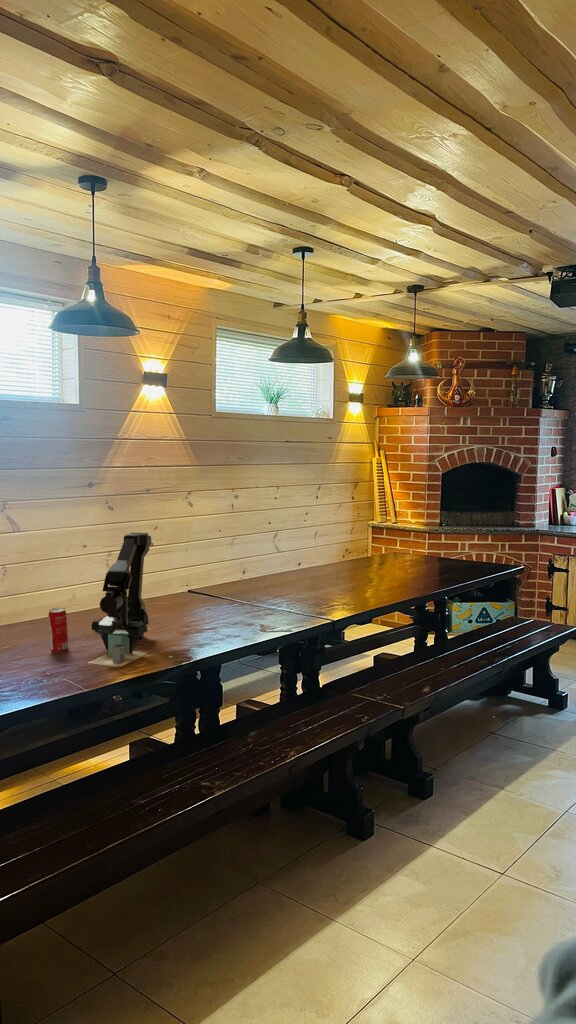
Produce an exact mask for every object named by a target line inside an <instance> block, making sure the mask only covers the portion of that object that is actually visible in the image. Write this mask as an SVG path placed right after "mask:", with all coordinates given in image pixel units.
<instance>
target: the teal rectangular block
mask: <svg viewBox="0 0 576 1024" xmlns="http://www.w3.org/2000/svg"><path fill="white" fill-rule="evenodd" d="M127 635H129V633H128V632H126V631H125V630H115V631H114V632H113V633H111V634H108V650H107V651H108V652H107V654H113V646H115V645H117V644H119V645H124V654H126V653H128V652H129V638H128V637H127Z"/></svg>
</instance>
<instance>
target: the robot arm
mask: <svg viewBox="0 0 576 1024" xmlns="http://www.w3.org/2000/svg"><path fill="white" fill-rule="evenodd" d="M151 544H152V536H151V535H149V533H148V532H130V533H126V534H124V536H123V542H122V545H121V548H120V551H119V553H118V557H117V559H116V561H115V562H114V563H113V564H112V565H110V567H109V569H108V570H107V572H106V573H105V576H104V580H103V581H104V582H103V587H102V592H105V595H104V596H103V597H102V598H101V600H100V601H99V608H100V610H101V612H103V613H105V614H106V616H105V617H104V618H102V617H101V618H98V619H96V620H93V621H92V622H91V625H90V626H91V627H90V628H91V631H94V633H97V634H98V635H99V636H100V637H101V640H102V642H103V644H104V645H103V646H104V647H105V649H106V651H108V634H111V633H113V632H115V631H125V632H128V633H129V635H127V637H128V638H129V652H130V654H131V653H133V651H135V648H136V645H137V643H138V641H140V640H143V639H144V637H145V633H147V632H148V625H149V619H150V618H149V614H148V612H147V610H146V604H145V602H144V600H143V599H142V593H143V592H142V589H143V579H144V578H143V576H144V562H145V557H146V555H147V554H148V553H149V551H150V546H151Z"/></svg>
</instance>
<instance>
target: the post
mask: <svg viewBox="0 0 576 1024" xmlns="http://www.w3.org/2000/svg"><path fill="white" fill-rule="evenodd" d="M123 662H125V655H124V645H119V644H117V645H115V646H113V663H116V664H121V663H123Z"/></svg>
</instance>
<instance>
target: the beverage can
mask: <svg viewBox="0 0 576 1024" xmlns="http://www.w3.org/2000/svg"><path fill="white" fill-rule="evenodd" d="M48 611H49V612H48V615H47V616H48V628H49V644H50V652H51V653H52V654H54V653H57V652H66V651H67V650H69V637H68V635H69V634H68V622H67V621H68V620H67V612H66V609H65V608H63V607H55V608H54V607H53V608H51V609H49V610H48Z"/></svg>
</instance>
